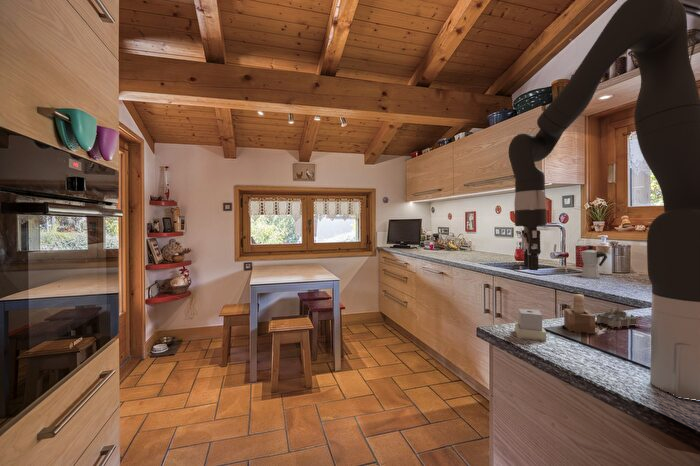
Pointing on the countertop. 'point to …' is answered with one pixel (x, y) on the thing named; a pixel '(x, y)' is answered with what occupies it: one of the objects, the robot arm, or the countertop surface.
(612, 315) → the grey lumpy piece
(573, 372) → the countertop surface
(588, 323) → the bore block
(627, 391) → the countertop surface
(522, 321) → the off-white square block
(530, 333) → the tray
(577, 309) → the tan wooden peg
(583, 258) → the coffee maker
